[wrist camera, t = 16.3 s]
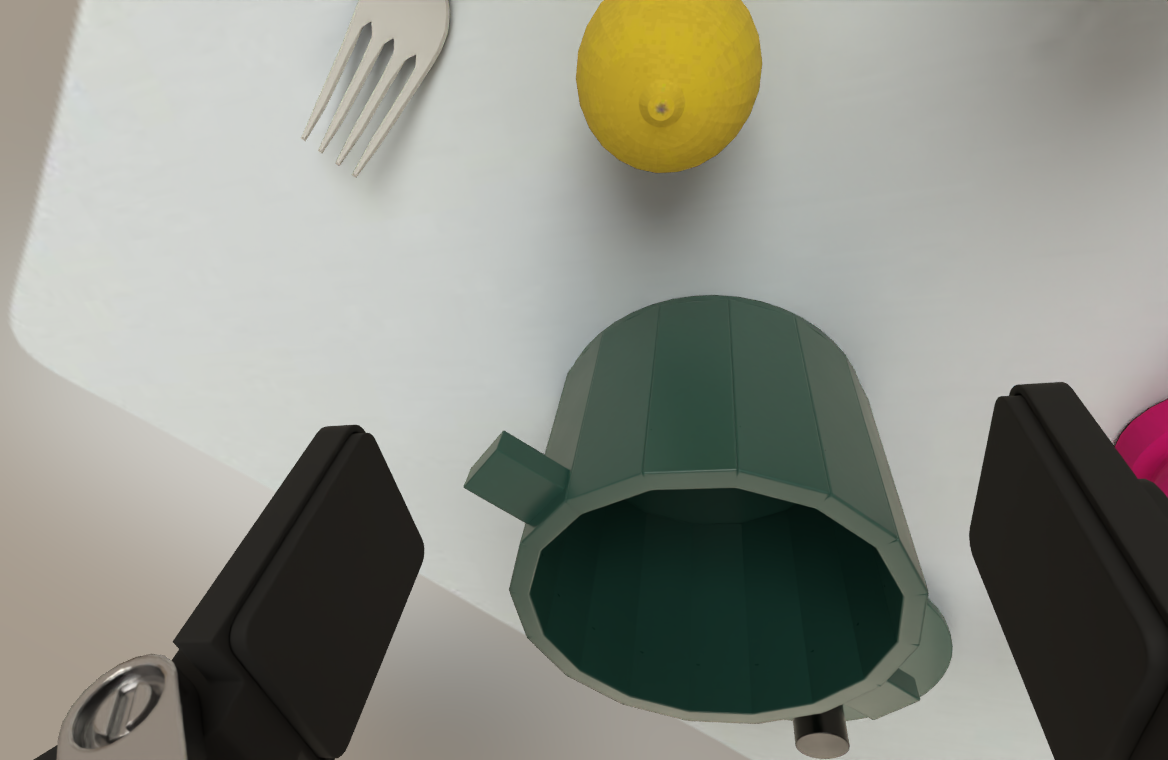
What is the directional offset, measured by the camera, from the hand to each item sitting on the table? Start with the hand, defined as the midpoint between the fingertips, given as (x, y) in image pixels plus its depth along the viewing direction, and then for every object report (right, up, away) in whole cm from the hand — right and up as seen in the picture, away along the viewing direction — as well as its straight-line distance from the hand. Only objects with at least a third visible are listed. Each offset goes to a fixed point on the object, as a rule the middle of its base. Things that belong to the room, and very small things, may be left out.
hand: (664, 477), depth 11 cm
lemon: (+2, +13, +13) cm, 19 cm away
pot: (+5, -1, +23) cm, 24 cm away
